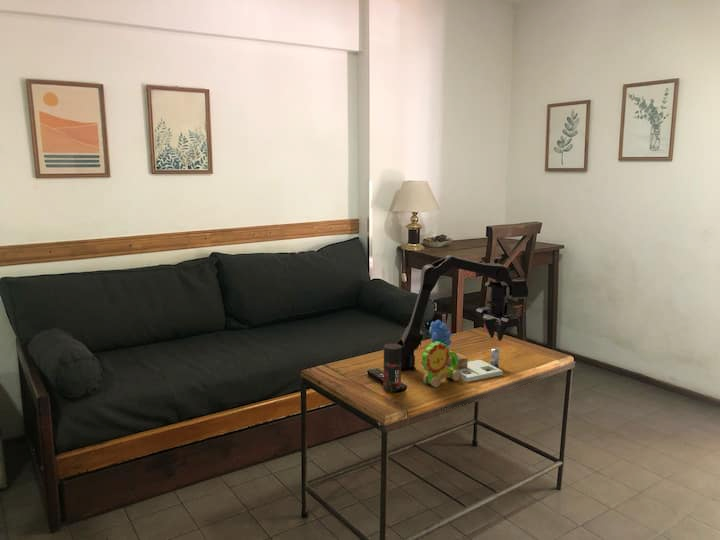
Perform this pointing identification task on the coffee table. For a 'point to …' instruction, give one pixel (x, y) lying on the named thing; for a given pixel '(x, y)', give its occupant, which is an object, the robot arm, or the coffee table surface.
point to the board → (478, 371)
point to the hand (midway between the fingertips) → (495, 339)
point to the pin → (495, 357)
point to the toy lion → (439, 364)
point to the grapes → (440, 333)
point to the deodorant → (392, 367)
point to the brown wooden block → (459, 361)
